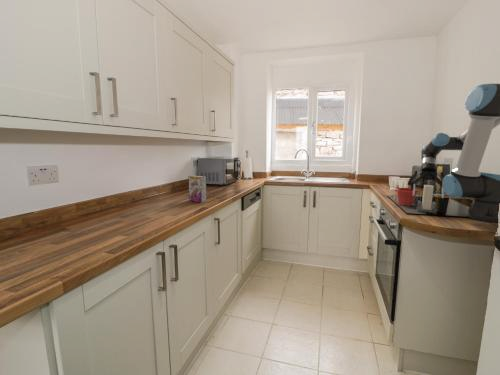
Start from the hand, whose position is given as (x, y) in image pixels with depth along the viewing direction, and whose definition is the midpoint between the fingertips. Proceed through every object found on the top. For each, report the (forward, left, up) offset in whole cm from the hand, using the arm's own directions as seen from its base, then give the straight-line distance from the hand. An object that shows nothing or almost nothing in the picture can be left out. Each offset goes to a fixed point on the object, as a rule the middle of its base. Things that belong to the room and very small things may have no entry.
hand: (428, 195), depth 148 cm
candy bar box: (+61, +120, -9) cm, 135 cm away
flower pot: (+18, -4, -9) cm, 21 cm away
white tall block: (+2, -2, -8) cm, 8 cm away
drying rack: (+2, -2, -9) cm, 9 cm away
